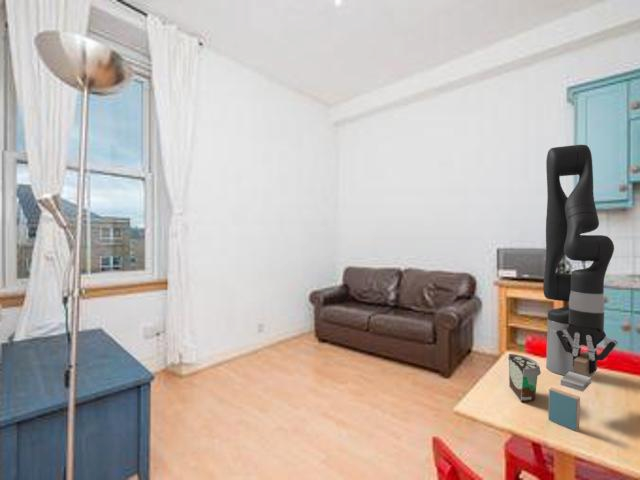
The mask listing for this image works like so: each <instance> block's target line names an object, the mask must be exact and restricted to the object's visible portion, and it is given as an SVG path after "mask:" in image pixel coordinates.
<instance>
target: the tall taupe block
mask: <svg viewBox="0 0 640 480" xmlns="http://www.w3.org/2000/svg"><path fill="white" fill-rule="evenodd" d="M589 360H590V359H589V352H588V350H583V351H581V353H580V355H579V356H578V357H577V358H576V359H574V373H573V372H570V371H569V372H568V373H567V374H566V375H563V376H562V377H561V378H560V386H563V387H566V388H569V389H573V390H575V391H578V392H582V393H583V392H584V391H585V390H586V389H587V388H588V387H589V386H590V385H591V384H592V375H593V374H589Z"/></svg>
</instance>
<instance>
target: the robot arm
mask: <svg viewBox="0 0 640 480" xmlns="http://www.w3.org/2000/svg"><path fill="white" fill-rule="evenodd" d="M592 156H593V155H592V152H591V149H590V147H589V146H588V145H586V144H574V145H565V146H557V147H551V148H550V149H549V150H548V151H547V155H546V160H545V161H546V169H545V170H546V186H547V187H546V188H547V189H546V190H547V199H546V200H547V201H546V202H547V203H546V219H545V263H544V274H543V286H542V290H543V295H544V297H545V298H546V299H548V300H551V301H552V300H553V301H558V302H559V301H560V302H568V304H567V305H565V306H563V307H558V308H557V307H556V308H553V309H550V310H547V311H548V312H547V323H546V324H547V331H546V335H547V336H546V359H545V361H546V365H545V367H546V369H547V370H548V371H550V372H553V373H554V374H558V375H560V376H561V375H563V376H565V375H566V374H567V373H568V372H569V371H570V372H573V373H574V359H576V358H577V357H578V356H579V355H580V354H581V353H582V347H583V346H585V347H587V348H586V349H587V352H589V359H590V360H589V374H592V375H594V374H595V372H597V370H598V361H604V360H605V359H606V358H608V356H609V355H610V354H611V352H612V351H613V350H614V349H615V347H617V345H618V344H619V343H618V341H616V340H615V339H614V340H612V339H611V338H609V337H608V336H607V334H606V333H605V331H604V330H605V328H604V327H605V326H604V325H605V297H604V293H605V292H604V290H605V288H604V287H605V284H604V283H605V276H606V273H607V270H608V267H609V265H610V261H611V259H612V257H613V254H614V253H615V252H614V251H615V244H614V242H613V240H612V239H611V238H610V237H609V236H608V235H600V234H596V235H595V234H594V235H593V234H588V233H591V232H594V231H595V230H597V229H598V227H599V225H600V221H599V220H600V219H599V216H598V212H597V207H596V204H595V203H596V202H595V196H594V169H593V168H594V167H593V166H594V165H593V157H592ZM577 175H578V182H577V183H576V185H575V187H574V188H573V190H572V191H571V193H570V194H569V196H567V194H566V193H565V191H564V189H563V188H562V184H561V180H560V178H561V177H566V176H567V177H568V176H577ZM581 234H582V235H581ZM587 234H588V235H587ZM564 257H566V258H567V259H568V260H571V261H576V262H580V261H581V262H592V263H591V265H590V266H589V267H586V268H580V269H579V268H578V269H574V270H573V271H572V272H571V273H561V272H560V273H556V271H557V268H558V266H559V265H560V262H562V260H563V258H564ZM601 342H603V345H604V349H603V350H602V351H601V352H600V353H598V345H599V344H600V343H601Z"/></svg>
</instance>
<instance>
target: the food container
mask: <svg viewBox="0 0 640 480" xmlns="http://www.w3.org/2000/svg"><path fill="white" fill-rule="evenodd" d="M507 359H508V379H509V380H508V381H509V384H508V385H509V388H510V391H512V393H513V394H514V395H515V397H516V398H517V399H518V400H519V402H520V403H527V404H528V403H532V402H534V401H535V400H536V393H537V392H536V391H537V385H538V384H537V383H538V376H540V375H541V374H542V373H541V372H542V371H541V367H540V366H539V363H538V362H537V361H536V360H534V359H532V358H529V357H527V356H524V355H520V354H514V353H509V354H508V358H507Z"/></svg>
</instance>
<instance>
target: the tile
mask: <svg viewBox="0 0 640 480" xmlns="http://www.w3.org/2000/svg"><path fill="white" fill-rule="evenodd" d="M580 407H581V396H579V395H575V394H572V393H570V392H567V391H564V390H560V389H557V388H555V387H550V388H549V389H548V417H547V418H548V421H550V422H552V423H554V424H558V425H560V426H562V427H564V428H567V429H570V430H572V431H575V432H578V431H579V430H580V415H581V414H580V412H581V411H580V410H581V409H580Z"/></svg>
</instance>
